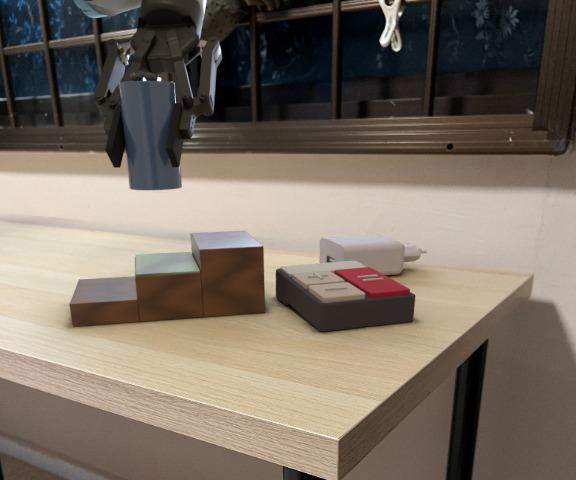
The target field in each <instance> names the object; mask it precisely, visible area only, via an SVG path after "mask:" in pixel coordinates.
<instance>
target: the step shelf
mask: <svg viewBox="0 0 576 480" xmlns="http://www.w3.org/2000/svg"><path fill="white" fill-rule="evenodd" d="M189 235H190V248H191V249H190V250H191V251H180V252H159V253H141V254H139V253H138V254H135V256H134V275H133V276H132V275H131V276H119V277H118V276H116V277H99V278H81V279H78V281H77V284H76V285H75V289H74V291H73V294H72V297H71V299H70V302H69V305H68V306H69V311H70V318H71V323H72V327H85V326H87V327H88V326H100V325H115V324H127V323H128V324H129V323H140V322H153V321H167V320H182V319H193V318H194V319H195V318H209V317H223V316H237V315H250V314H252V315H253V314H262V313H263V314H265V313H266V289H265V286H266V285H265V250H264V249H265V248H264V245H262V244H261V243H260V242H259V241H258V240H257V239H255V238H254V237H253V236H252V235H251V234H250V233H249V232H248V231H247V230H232V231H231V230H230V231H229V230H228V231H206V232H191V233H190V234H189Z"/></svg>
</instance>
